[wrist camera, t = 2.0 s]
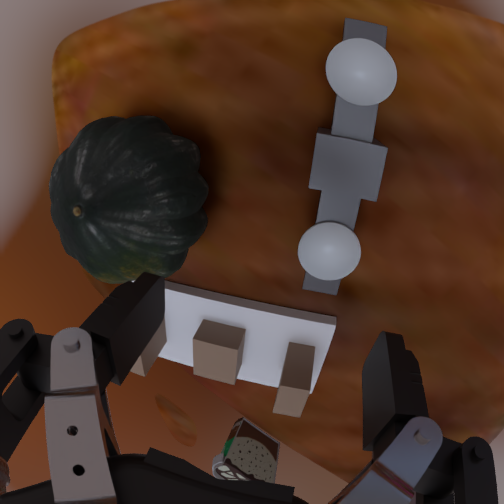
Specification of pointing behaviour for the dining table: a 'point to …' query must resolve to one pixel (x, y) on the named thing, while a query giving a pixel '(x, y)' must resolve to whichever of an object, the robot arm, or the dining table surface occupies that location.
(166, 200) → the squash
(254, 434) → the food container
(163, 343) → the display stand
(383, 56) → the grey white knobbed bar
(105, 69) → the dining table surface
